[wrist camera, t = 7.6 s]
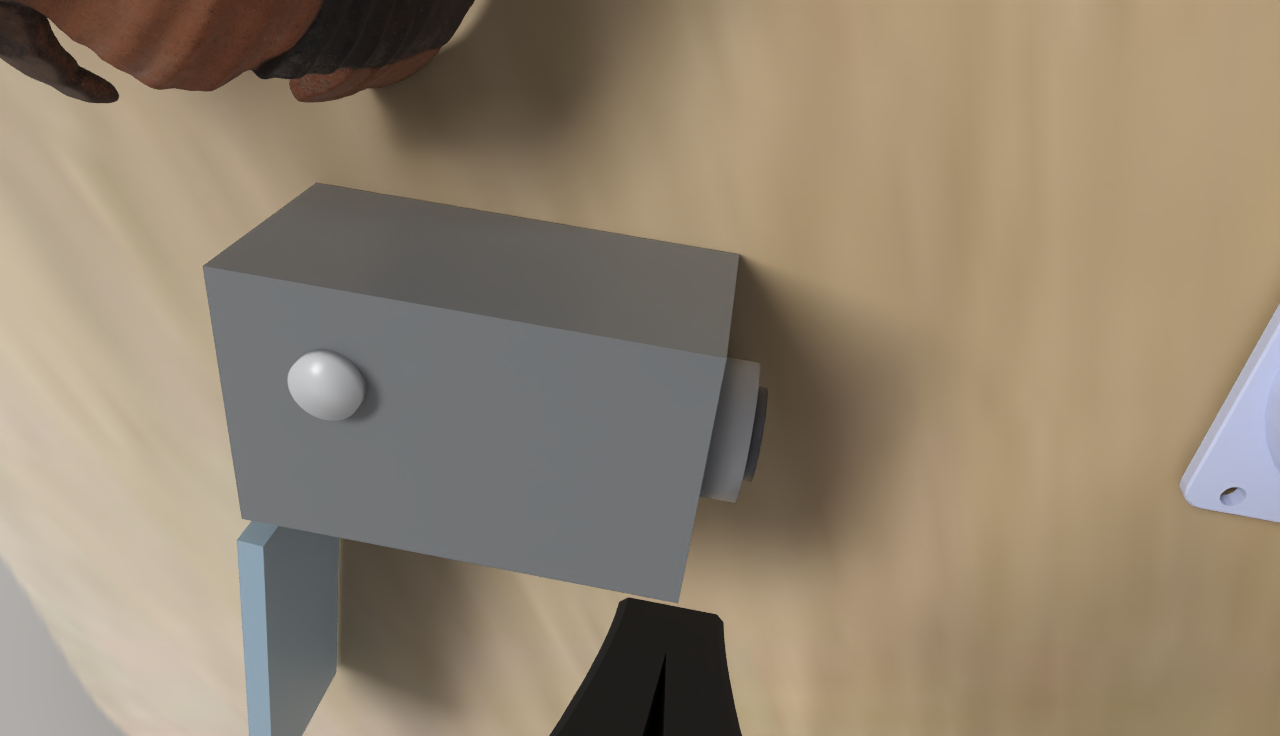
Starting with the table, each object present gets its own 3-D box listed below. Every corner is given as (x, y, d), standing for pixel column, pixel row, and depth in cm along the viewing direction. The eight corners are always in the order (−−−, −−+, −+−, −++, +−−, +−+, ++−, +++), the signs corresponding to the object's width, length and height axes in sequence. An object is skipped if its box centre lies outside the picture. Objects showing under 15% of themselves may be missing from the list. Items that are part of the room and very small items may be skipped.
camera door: (336, 672, 28) (272, 788, 24) (299, 662, 28) (231, 777, 24) (341, 441, 23) (262, 546, 20) (296, 430, 23) (210, 533, 20)
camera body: (787, 262, 19) (787, 378, 15) (738, 479, 22) (727, 623, 18) (316, 183, 20) (193, 272, 16) (333, 404, 23) (234, 528, 19)
